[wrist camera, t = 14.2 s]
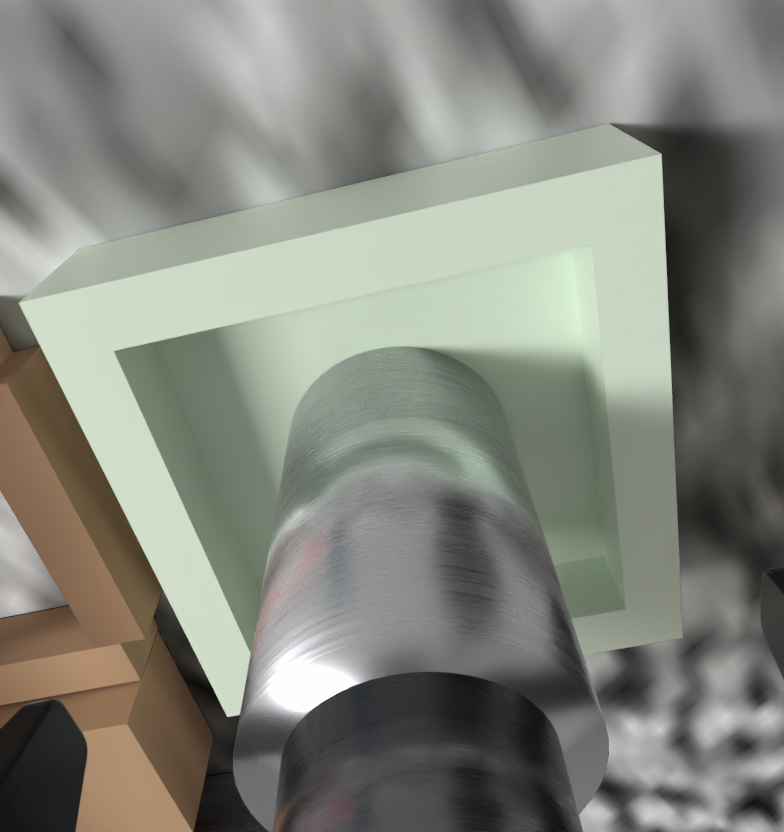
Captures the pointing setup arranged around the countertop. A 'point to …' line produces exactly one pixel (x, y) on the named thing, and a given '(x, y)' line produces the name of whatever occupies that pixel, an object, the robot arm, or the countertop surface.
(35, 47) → the countertop surface
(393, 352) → the cylinder
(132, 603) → the brown flat open-framed piece
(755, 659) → the countertop surface
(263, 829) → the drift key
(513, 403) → the tray
